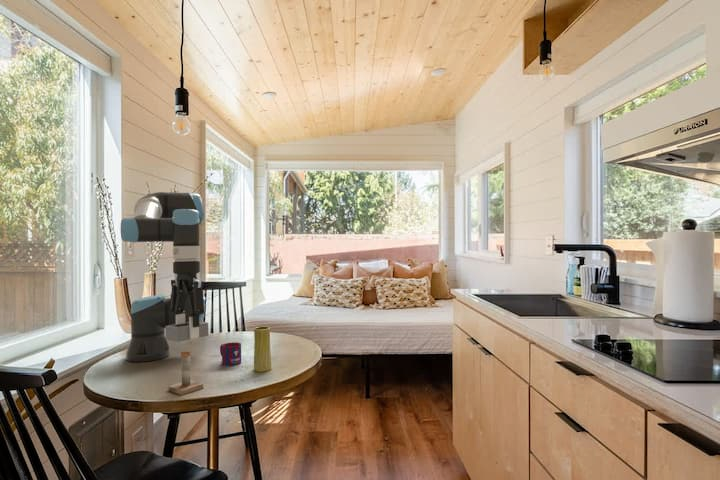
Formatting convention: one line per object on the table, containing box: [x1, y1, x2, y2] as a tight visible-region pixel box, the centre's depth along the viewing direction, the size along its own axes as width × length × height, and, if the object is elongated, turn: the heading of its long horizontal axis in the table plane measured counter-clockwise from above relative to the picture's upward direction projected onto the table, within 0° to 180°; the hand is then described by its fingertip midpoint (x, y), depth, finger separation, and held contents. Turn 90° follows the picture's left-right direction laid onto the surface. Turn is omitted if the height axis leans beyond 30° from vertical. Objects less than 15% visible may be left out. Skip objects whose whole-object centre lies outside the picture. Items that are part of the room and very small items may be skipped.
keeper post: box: [168, 350, 204, 396], centre depth 124 cm, size 7×7×11 cm
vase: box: [253, 326, 272, 373], centre depth 142 cm, size 6×6×14 cm
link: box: [165, 321, 209, 343], centre depth 125 cm, size 6×10×4 cm, turn 144°
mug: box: [219, 341, 242, 367], centre depth 152 cm, size 7×10×7 cm
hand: (187, 336), depth 125 cm, fingers closed on link, 6 cm apart
